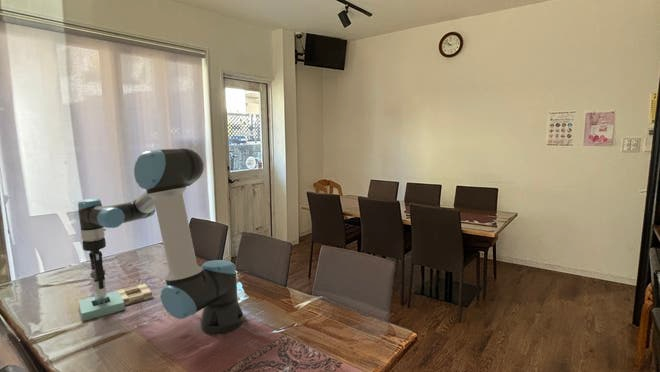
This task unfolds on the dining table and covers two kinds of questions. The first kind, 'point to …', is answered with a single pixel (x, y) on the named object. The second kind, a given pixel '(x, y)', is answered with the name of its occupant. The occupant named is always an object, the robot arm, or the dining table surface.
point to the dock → (101, 306)
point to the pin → (97, 299)
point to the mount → (135, 294)
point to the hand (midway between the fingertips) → (99, 290)
